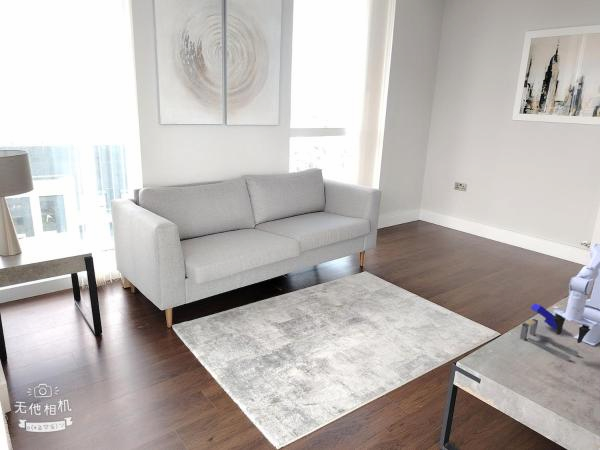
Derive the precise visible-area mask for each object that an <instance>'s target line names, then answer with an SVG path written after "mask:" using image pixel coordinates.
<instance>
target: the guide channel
mask: <svg viewBox="0 0 600 450" xmlns="http://www.w3.org/2000/svg"><path fill="white" fill-rule="evenodd" d="M535 338H537V339H539V340H541V341H542V342H543V341H544V343H547V344H549V345H551V346H553V347H555V348H557V349H559V350H561V351H563V352H561V351H559V350H557V349H554V348H553V347H550V346H548V345H546V344H544V343H542V342H540V341H537V340H535V339H532V338H530V337H528V338H527V342H528V343H530V344H531V345H534V346H536V347H538V348H540V349H542V350H544V351H546V352H547V353H549V354H552V355H554V356H556V357H558V358H560V359H563V360H564V361H567V362H570V361H571V356H570V355H572V356H574V357H576V358H577V357H579V351H577V350H575V349H573V348H570V347H568V346H565V345H564V344H562V343H559V342H557V341H555V340H553V339H550V338H548V337H546V336H543V335H541V334H539V333H536V334H535ZM564 352H565V353H564ZM566 353H567V354H566ZM568 354H570V355H568Z"/></svg>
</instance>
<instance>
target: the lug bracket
mask: <svg viewBox="0 0 600 450" xmlns="http://www.w3.org/2000/svg"><path fill="white" fill-rule="evenodd" d="M538 323H539V320H538V319H535V318H533V319H530V320H528V321H525V322H524V323H522V324H521V325H522V326H521V331H520V334H519V335H520V336H519V339H521V340H522V341H526V340H527V339H528V338H527V337H528V334H529V335H531V336H532V337H535V336H536V334H537V328H538Z"/></svg>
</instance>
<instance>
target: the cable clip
mask: <svg viewBox="0 0 600 450" xmlns="http://www.w3.org/2000/svg"><path fill="white" fill-rule="evenodd" d="M530 309H531V310H532V311H534V312H536V313H537V314H539V315H540V316H542V317H543V318H544V320H543V322H544V323H546V324H547V325H548V326H549V327H550V328H552V329H553V330H555V331H557V327H556V323H555V321H554V317H555V315H553V313H551V312H550V311H549V310H547V309H546V308H545V307H544V306H542V305H539V304H537V303H533V305H532V306H531V307H530Z"/></svg>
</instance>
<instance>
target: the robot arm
mask: <svg viewBox="0 0 600 450" xmlns="http://www.w3.org/2000/svg"><path fill="white" fill-rule="evenodd" d="M589 256H590V261H589V263H588V265H584V266H583V267H582V268H581V269H580V271H579V272H578V273H577V275H576V276H572V277H571V279H570V281H569V283H568V295H569V296H568V299H567V305H566V308H565V309H566V310H565V311H563V310H559V309H557V308H556V309H554V310H553V311H552V314H553V315H554V316H555V317H554V321H555V323H556V327H557V330H556V334H557V335H560V334H562V333H563V328H564V324H565V320H566V321H568V322H571V323H572V322H573V323H575V324H578V325H579V328H578V334H577V335H575V336H574V339H576V340H577V341H576V342H577V343H578V344H581V343H582V342H583V343H585V344H588V345H590V346H596V345H597V344H599V343H600V244H598V243H594V244H592V246H591V248H590V252H589ZM591 291H592V292H591ZM590 293H591V295H590ZM588 295H590V298H589V299H588Z"/></svg>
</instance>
